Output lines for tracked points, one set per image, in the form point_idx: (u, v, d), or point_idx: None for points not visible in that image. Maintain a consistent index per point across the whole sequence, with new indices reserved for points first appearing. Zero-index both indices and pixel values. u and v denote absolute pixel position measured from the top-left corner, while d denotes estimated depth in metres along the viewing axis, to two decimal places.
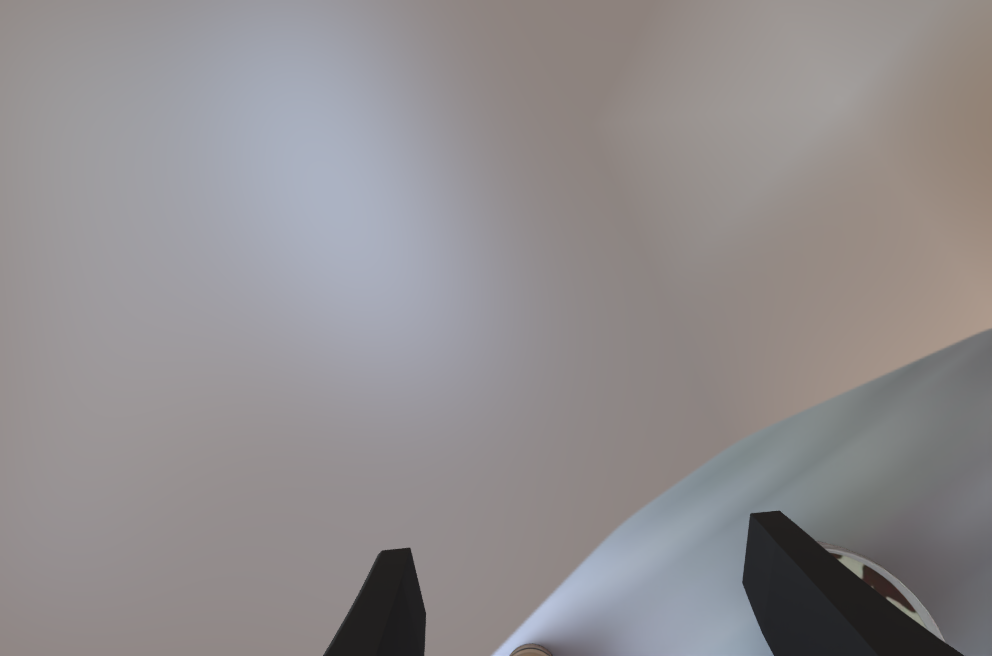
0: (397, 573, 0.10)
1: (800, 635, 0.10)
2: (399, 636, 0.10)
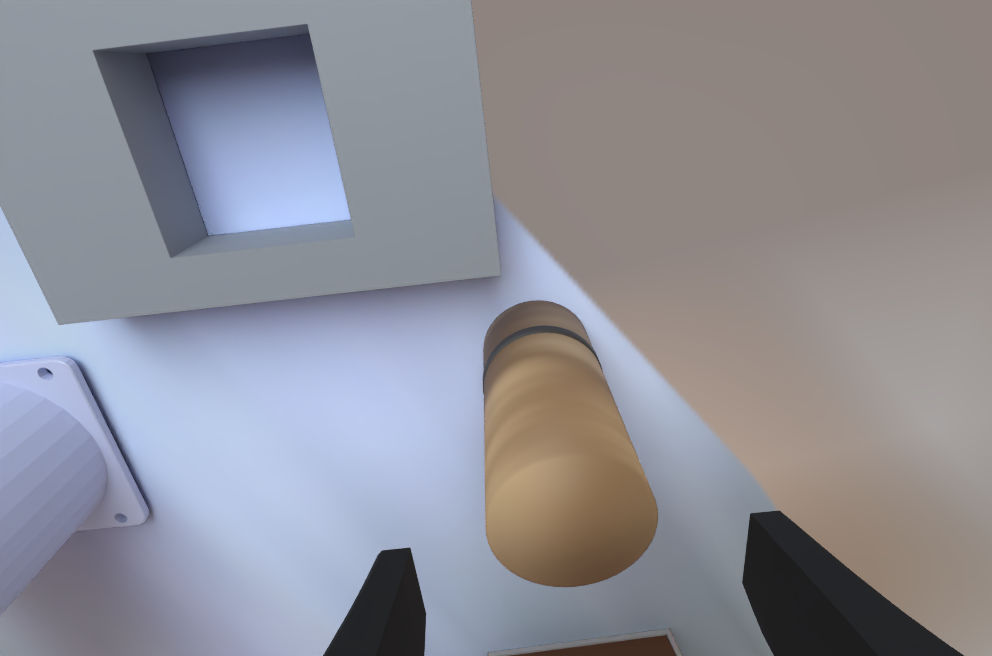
0: (397, 573, 0.10)
1: (800, 635, 0.10)
2: (399, 636, 0.10)
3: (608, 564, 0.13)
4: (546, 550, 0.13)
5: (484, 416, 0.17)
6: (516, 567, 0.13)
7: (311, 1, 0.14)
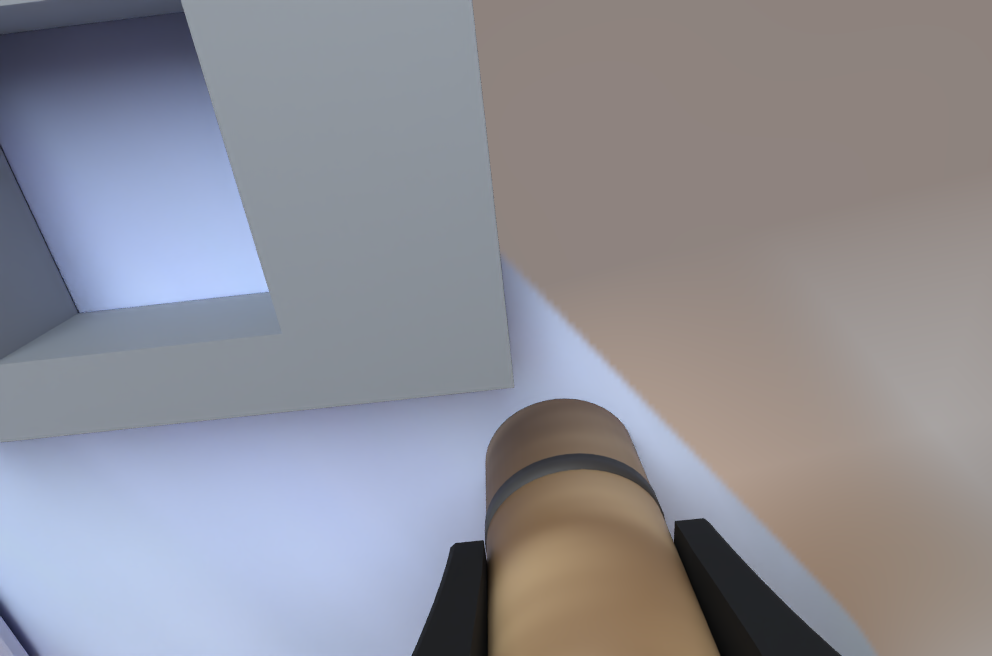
0: (476, 565, 0.10)
1: None
2: (482, 628, 0.10)
3: None
4: None
5: None
6: None
7: None
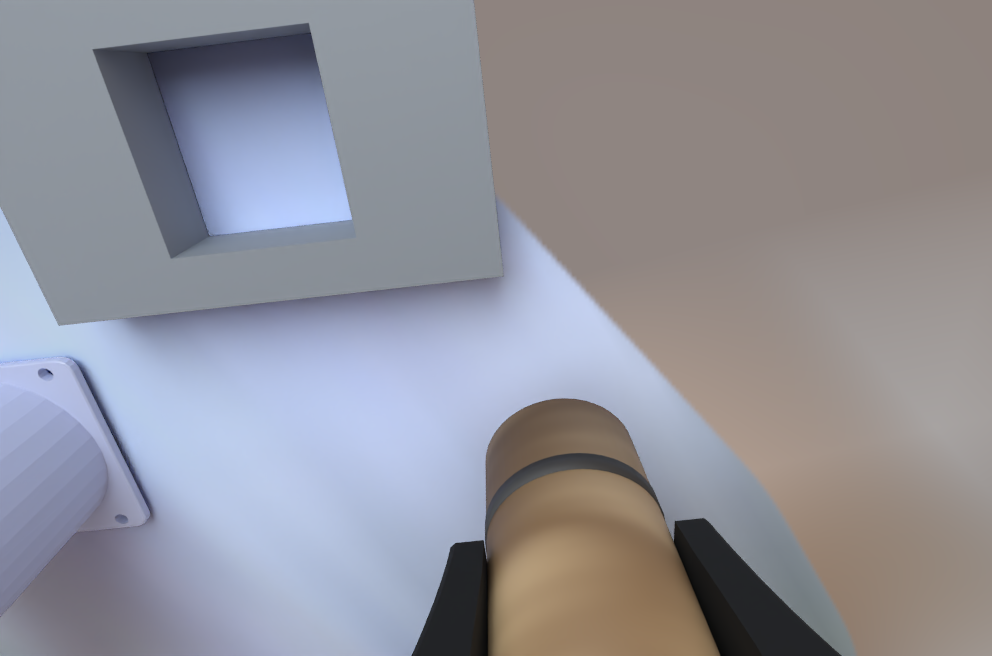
0: (476, 565, 0.10)
1: None
2: (482, 628, 0.10)
3: None
4: None
5: None
6: None
7: (312, 0, 0.14)
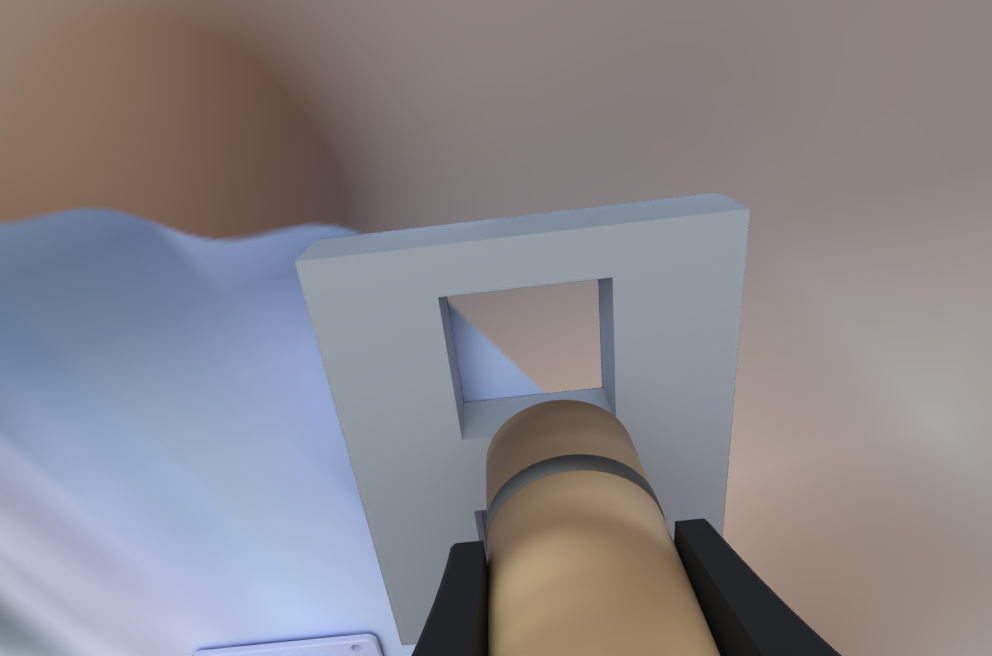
0: (476, 565, 0.10)
1: None
2: (482, 628, 0.10)
3: None
4: None
5: (488, 615, 0.11)
6: None
7: None
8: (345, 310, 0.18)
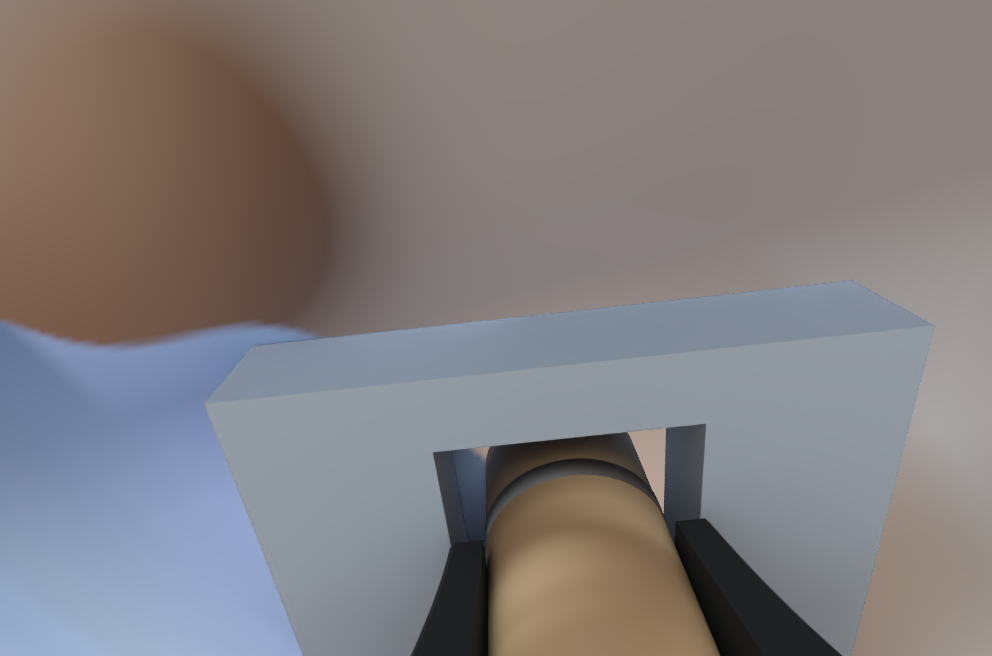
0: (475, 565, 0.10)
1: None
2: (481, 628, 0.10)
3: None
4: None
5: (488, 622, 0.10)
6: None
7: None
8: (289, 471, 0.11)
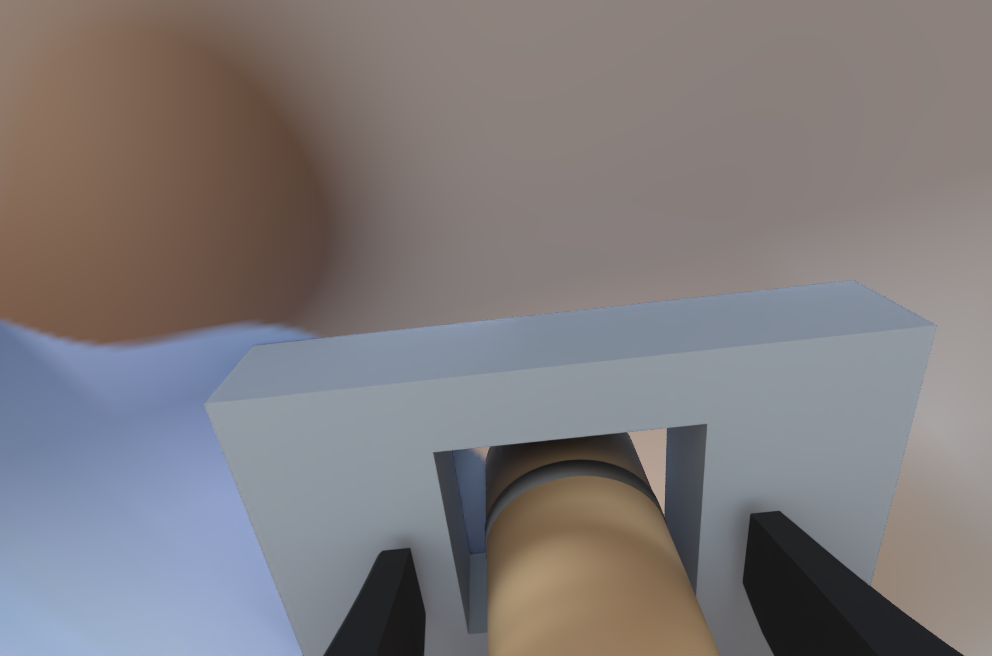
0: (397, 573, 0.10)
1: (800, 635, 0.10)
2: (399, 636, 0.10)
3: None
4: None
5: (487, 624, 0.10)
6: None
7: None
8: (289, 471, 0.11)
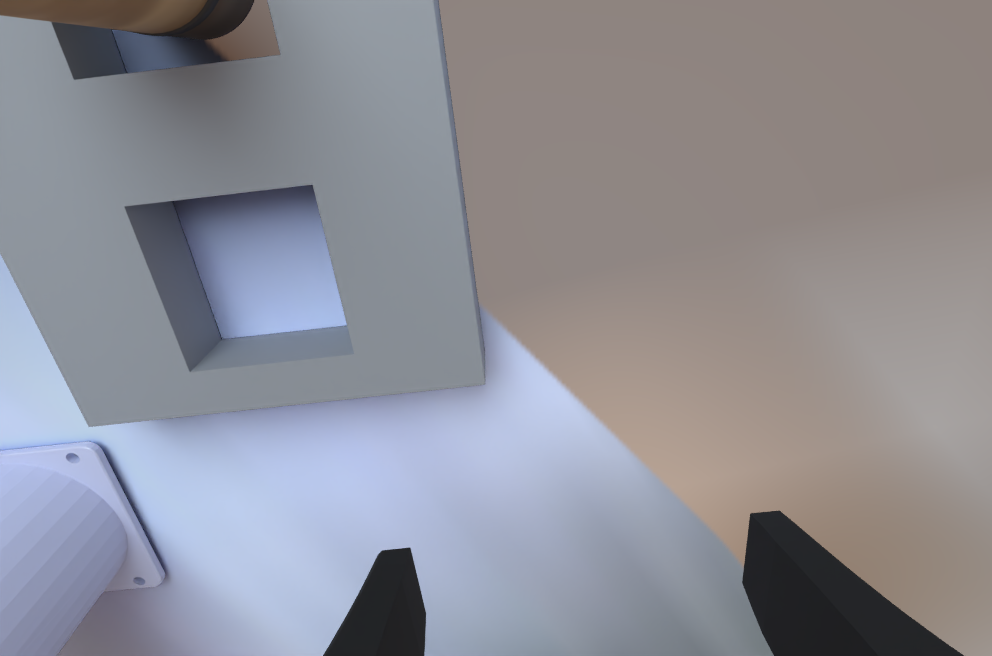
0: (397, 573, 0.10)
1: (799, 635, 0.10)
2: (399, 636, 0.10)
3: None
4: None
5: None
6: None
7: (316, 167, 0.16)
8: None
